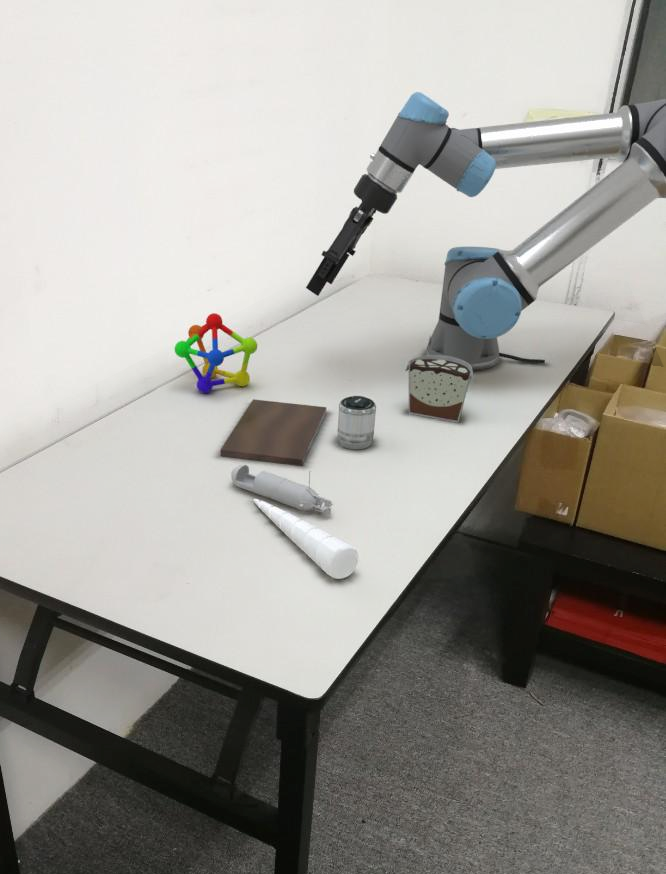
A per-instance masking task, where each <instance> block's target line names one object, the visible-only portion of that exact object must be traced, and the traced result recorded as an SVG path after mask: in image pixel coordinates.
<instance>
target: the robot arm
mask: <svg viewBox="0 0 666 874" xmlns="http://www.w3.org/2000/svg"><path fill="white" fill-rule="evenodd" d="M449 116H450V113H449V111H448V110H447V109H446V108H444V107H443V106H442V105H440V104H438V102H435V100H433V99H431V98H430V97H429V96H427V95H425V93H423V92H420V91H416V92H414V93H412V94H411V95H410V96H409V98H408V99H407V101H406V103H405V104H404V106H403V107H402V109H401V110H400V112H398V114H397V116H396V118H395V120H394V121H393V123H392V125H391V127H390V128H389V130H388V131H387V133H386V135H385V137H384V138H383V140H382V142H381V144H380V145H379V147H378V149H377V150H376V152H375V153H374V152H372V153H371V154H370V155H369V158H370V159H371V160H372V161H370V162H369V163H368V165H367V167H366V172H367V173H364V174H362V175H361V177H360V178H359V180H358V181H357V183H356V185H355V187H354V189H353V194H354V195H355V197H357V198H358V199H359V200H360V201H361V202H360V204H359V206H355V207H353V208H352V209H351V211H350V213H349V215H348V218H347V219H346V221H344V223H343V225H342V228H341V230H339V232H338V234H337V235H336V237H335V238H334V240H333V242H332V243H331V245H330V246H329V248H328V249H327V250H323V251H322V253H321V255H320V256H322V257H323V258H322V260H321V262H320V263H319V265H318V267H317V268H316V270H315V271H314V273H313V275H312V277H311V278H310V280H309V281H308V283H307V285H306V286H305V289H306V290H308V291H309V292H311V293H313V294H314V295H315V296H317V297H319V296H320V294H321V293H322V291H323V290H324V288H325V286H326V284H327V283H328V284H329V285H332V284H333V283H334V281H335V280H336V278H337V277H338V275H339V273H340V271H341V270H342V268H343V267H344V265H345V264H346V262H347V260H348V259H349V257H350V256H352V257H354V256H355V254H356V252H357V251H356V250H355V249H356V246H357V244H358V242H359V241H360V239H361V237H362V235H364V234H365V232H366V230H367V229H368V228H369V227H370V225H371V224H372V222H373V220H374V217H373V216H374V215H375V214H376V213H377V212H378V213H380V214H383V215H386V214H389V212H390V211H391V209H392V208H393V206H394V204H395V203H396V201H397V200H398V194H400V193H402V192H403V190H404V189H405V187H406V186H407V184H408V183H409V181H410V179H411V178H412V177H413V175H414V172H415V171H416V169H417V168H418V166H419V165H420V166H421V167H422V168H424V169H426V170H427V171H429V172H430V173H432V174H433V175H435V176H436V177H438V178H439V179H440V180H442V181H443V182H445V183H446V184H448V185H450V186H451V187H452V188H454V189H455V190H456V192H460V193H462V194H463V195H465V196H467V197H468V198H474V197H477V196H478V195H479V194H481V192H482V191H484V189H485V188H486V187H487V185H488V184H489V182H490V181H491V179H492V177H493V175H494V173H495V171H496V170H497V169H498V170H500V169H509V168H518V167H519V168H521V167H527V166H528V167H529V166H530V167H531V166H541V165H548V164H549V165H550V164H559V163H570V162H571V163H572V162H579V161H590V160H601V159H609V158H613V159H615V160H616V161H617V162H618V163H621V164H619V165H618V166H617V167H616V168H614V169H613V170H612V171H611V172H610V173H608V174H607V175H606V176H604V177H603V178H602V179H600V180H599V181H598V182H596V183H595V184H594V185H593V186H591V188H589V189H588V190H586V191H585V192H584V193H583V194H582V195H580V196H579V197H577V198H576V199H575V200H574V201H572V202H571V203H570V204H569V205H567V206H566V207H565V208H564V209H562V211H560V212H558V213H557V214H556V215H555V216H554V217H552V218H551V219H550V220H548V221H547V222H546V223H545V224H543V225H542V226H541V227H539V228H538V229H537V230H535V231H534V232H533V233H532V234H531V235H529V236H528V237H527V238H525V240H523V241H522V242H520V244H518V245H517V246H516V247H514V248H513V249H511V250H510V249H509V250H508V249H507V250H506V249H500V248H495V247H489V246H488V247H487V246H455V247H451V248H449V250H448V251H447V253H446V258H445V261H444V274H443V281H442V290H441V297H440V306H439V315H438V320H437V323H436V325H435V328H434V330H433V332H432V334H430V335H429V337H428V340H427V345H426V349H425V356H426V355H442V356H449V357H454V358H458V359H461V360H463V361H465V362H467V363H468V364H470V365H471V367H472V370H473V371H483V370H487V369H490V368H493V367H494V366H496V365H498V363H499V357H500V358H503V359H509V360H512V361H516V362H522V363H526V364H527V363H530V364H545V363H546V359H540V358H539V359H535V358H524V357H519V356H516V355H511V354H508V353H502V352H500V348H499V342H498V341H499V340H498V338H499V337H501V336H503V335H505V334H507V333H509V331H511V330H512V329H513V328H514V327H515V326H516V324H517V323H518V321H519V320H520V316H521V313H522V311H524V310H525V309H526V308H527V307H529V306H530V305H531V304H532V303H534V302H535V301H536V300H537V298H538V293H539V289H540V288H541V287H542V286H543V285H545V284H546V283H547V282H548V281H550V280H551V279H552V278H554V277H555V276H556V275H558V274H559V273H560V272H562V271H563V270H564V269H566V268H567V267H568V266H570V265H571V264H572V263H573V262H574V261H576V260H577V259H578V258H580V257H581V256H583V255H584V254H585V253H586V252H588V251H589V250H591V249H592V248H593V247H594V246H596V245H597V244H599V243H600V242H601V241H602V240H604V239H605V238H607V236H609V235H611V234H612V233H613V232H615V230H617V229H619V228H620V227H621V226H623V225H624V224H625V223H626V222H627V221H629V220H630V219H631V218H632V217H634V216H636V215H637V214H638V213H639V212H641V211H642V210H644V209H645V208H646V207H647V206H648V205H650V204H651V203H653V202H654V201H655V200H657V199H666V98H662V99H658V100H657V99H656V100H652V101H647V102H640V103H635V104H634V103H633V104H627V105H626V104H625V105H622V106H621V107H620V108H619V109H618V110H617V111H616V112H610V113H600V114H599V113H598V114H591V115H582V116H581V115H580V116H573V117H563V118H556V119H555V118H554V119H553V118H552V119H544V120H536V121H527V122H517V123H516V122H515V123H509V124H499V125H489V126H480V127H473V128H462V129H459V128H455V127H450V126H449V125H448V124H447V122H448V121H447V120H448V118H449Z"/></svg>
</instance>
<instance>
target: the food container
mask: <svg viewBox="0 0 666 874" xmlns="http://www.w3.org/2000/svg"><path fill="white" fill-rule="evenodd" d="M406 364H407V365H406V367H405V372H408V415H415V416H420V417H425V418H430V419H437V420H443V421H445V422H446V421H447V422H451V423H452V422H453V423H459V422H460V420H461V415H462V412H463V407H464V404H465V400H466V396H467V393H468V388H469V385H470V382H471V383H474V370H472V367H471V365H470V364H468V363H467V362H465V361H463V360H461V359H458V358H454V357H449V356H442V355H426V354H425V355H419V356H416V357H413V358H411V359H409V360H408V363H406Z"/></svg>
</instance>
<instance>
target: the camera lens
mask: <svg viewBox="0 0 666 874" xmlns="http://www.w3.org/2000/svg"><path fill="white" fill-rule="evenodd" d="M376 413H377V404H376V403H375V402H374V400H372V399H371V398H369V397H366V396H362V395H352V396H348V397H345V398H342V400H340V402H339V404H338V417H337V431H336V432H337V440H338V444H339V445H340V446H342V447H343V448H345V449H349V450H364V449H367V448H369V447H370V446H372V444H373V440H374V435H375V427H376Z"/></svg>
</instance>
